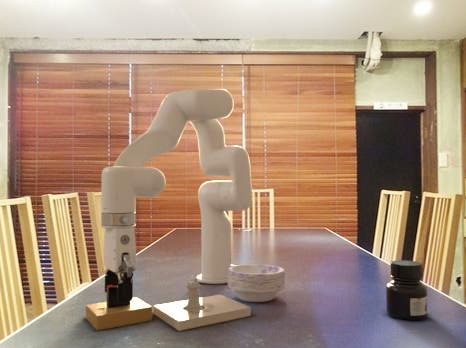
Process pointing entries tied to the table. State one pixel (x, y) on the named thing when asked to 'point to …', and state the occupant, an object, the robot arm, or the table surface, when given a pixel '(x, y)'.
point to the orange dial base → (118, 314)
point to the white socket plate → (201, 312)
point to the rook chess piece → (193, 296)
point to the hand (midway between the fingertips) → (118, 296)
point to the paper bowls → (256, 281)
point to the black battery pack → (114, 297)
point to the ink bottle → (406, 291)
